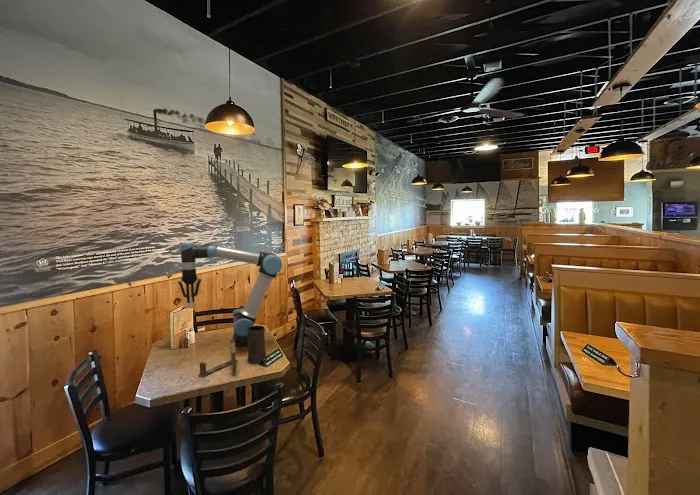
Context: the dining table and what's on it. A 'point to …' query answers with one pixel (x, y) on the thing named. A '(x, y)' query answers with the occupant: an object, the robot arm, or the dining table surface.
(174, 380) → the dining table surface
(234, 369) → the gate
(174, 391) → the dining table surface
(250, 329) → the beer stein
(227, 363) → the gate frame
